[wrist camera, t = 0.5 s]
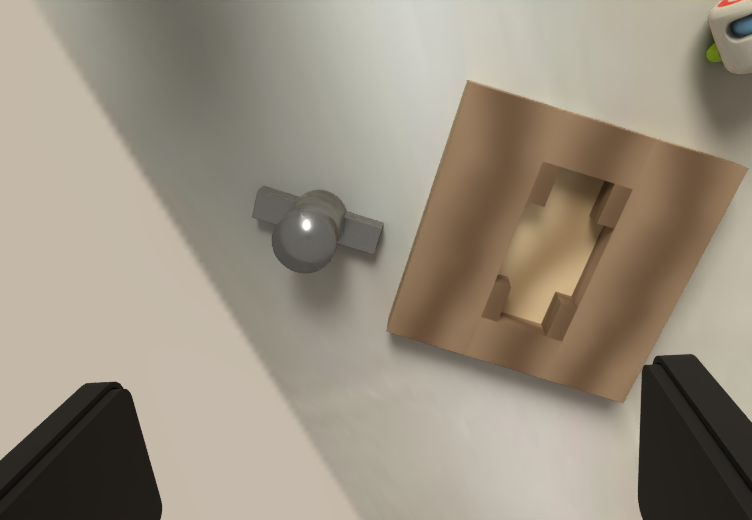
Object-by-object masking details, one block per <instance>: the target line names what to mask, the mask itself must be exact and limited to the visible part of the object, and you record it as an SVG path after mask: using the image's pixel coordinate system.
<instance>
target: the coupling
mask: <svg viewBox="0 0 752 520" xmlns="http://www.w3.org/2000/svg"><path fill="white" fill-rule="evenodd" d="M252 217H253V218H256V219H259V220H262V221H266V222H269V223H272V224H276V227H275V229H274V231H273V234H272V247H273V251H274V253H275V255H276V257H277V258H278V260H279V261H280V262H281V263H282V264H283V265H284V266H285V267H287V268H288V269H290V270H292V271H295V272H299V273H312V272H316V271H318V270H320V269H322V268H323V267H324V266H326V265H327V264H328V262H329V261H330V259H331V258H332V256H333V253H334V251H335V249H336V247H337V245H338V244H341V245H344V246H348V247H351V248H354V249H358V250H361V251H364V252H367V253H371V254H374V252H375V249H376V246H377V243H378V239H379V236H380V233H381V230H382V226H383V222H380V221H377V220H373V219H370V218H367V217H364V216H360V215H357V214H354V213H350V212H347V211H346V208H345V206H344V204H343V202H342V201H341V200H340V199H339V198H338V197H337V196H335V195H334V194H332V193H330V192H328V191H324V190H314V191H310V192H308V193H306V194H304V195H303V196H301V197H298V196H295V195H292V194H288V193H285V192H282V191H279V190H275V189H272V188H269V187H265V186H263V187H262V188H261V189H259V190H258V192H257V197H256V201H255V206H254V211H253V215H252Z"/></svg>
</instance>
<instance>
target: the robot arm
mask: <svg viewBox="0 0 752 520" xmlns="http://www.w3.org/2000/svg"><path fill="white" fill-rule="evenodd" d="M638 503H639V508H640V512H641V516H642V518H643V520H752V422H751V421H750V420H749V419H748V418H747V416H746V415H745V414H744V413H743V412H742V411H741V409H740V408H739V407H738V406H737V405H736V403H735V402H734V401H733V400H732V399H731V398H730V396H729V395H728V394H727V393H726V392H725V390H724V389H723V388H722V387H721V386H720V385H719V383H718V382H717V381H716V380H715V379H714V378H713V376H712V375H711V374H710V373H709V372H708V370H707V369H706V368H705V367H704V366H703V365H702V363H701V362H700V361H699V360H698V359H697V357H695V356H694V355H693V354H685V355H664V356H656V357H655V358H654V361H653V365H644V366H643V369H642V385H641V415H640V444H639V473H638ZM161 514H162V503H161V498H160V494H159V491H158V487H157V484H156V480H155V477H154V473H153V470H152V466H151V463H150V460H149V456H148V452H147V449H146V445H145V441H144V438H143V434H142V431H141V427H140V424H139V420H138V417H137V413H136V409H135V406H134V402H133V399H132V396H131V393H130V392H129V391H128V390H127V389H123V387H122V386H121V384H120V383H117V382H101V383H86V384H85V385H83V386H81V388H79V389H78V390H77V391H76V392H75V393H74V394H73V395H72V396H70V397H69V398H68V399H67V400H66V401H65V402H64V403H63V404H62V405H61V406H60V407H59V408H57V409H56V410H55V411H54V412H53V413H52V414H51V415H50V416H49V417H48V418H46V419H45V420H44V421H43V422H42V423H41V424H40V425H39V426H38V427H37V428H35V429H34V430H33V431H32V432H31V433H30V434H29V435H28V436H27V437H26V438H24V439H23V440H22V441H21V442H20V443H19V444H18V445H17V446H16V447H15V448H14V449H12V450H11V451H10V452H9V453H8V454H7V455H6V456H5V457H4V458H2V460H0V520H160V519H161Z"/></svg>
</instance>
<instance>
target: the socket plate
mask: <svg viewBox="0 0 752 520" xmlns="http://www.w3.org/2000/svg"><path fill="white" fill-rule="evenodd" d="M747 170H748V168H746V167H743V166H741V165H738V164H736V163H733V162H731V161H728V160H725V159H722V158H718V157H715V156H712V155H709V154H705V153H702V152H699V151H696V150H693V149H689V148H686V147H683V146H680V145H676V144H673V143H670V142H667V141H663V140H660V139H657V138H654V137H651V136H647V135H644V134H641V133H638V132H634V131H631V130H628V129H625V128H621V127H618V126H615V125H612V124H609V123H605V122H602V121H599V120H596V119H592V118H589V117H586V116H583V115H580V114H576V113H573V112H570V111H567V110H563V109H560V108H557V107H554V106H550V105H547V104H544V103H541V102H538V101H534V100H531V99H528V98H525V97H521V96H518V95H515V94H512V93H508V92H505V91H502V90H499V89H496V88H492V87H489V86H486V85H483V84H479V83H476V82H473V81H470V80H467V83H466V86H465V89H464V92H463V95H462V98H461V101H460V104H459V107H458V110H457V113H456V116H455V119H454V122H453V125H452V128H451V131H450V134H449V137H448V140H447V143H446V146H445V149H444V152H443V155H442V158H441V161H440V164H439V167H438V170H437V173H436V176H435V179H434V182H433V185H432V188H431V191H430V194H429V197H428V200H427V203H426V206H425V209H424V212H423V215H422V218H421V221H420V224H419V227H418V230H417V233H416V236H415V239H414V242H413V245H412V248H411V251H410V254H409V258H408V261H407V264H406V267H405V270H404V273H403V276H402V279H401V282H400V285H399V288H398V291H397V294H396V297H395V300H394V303H393V306H392V309H391V312H390V315H389V319H388V325H387V332H390V333H394V334H397V335H400V336H403V337H407V338H410V339H413V340H417V341H420V342H423V343H427V344H430V345H433V346H436V347H440V348H443V349H446V350H450V351H453V352H456V353H460V354H463V355H466V356H469V357H473V358H476V359H479V360H483V361H486V362H489V363H493V364H496V365H499V366H502V367H506V368H509V369H512V370H516V371H519V372H522V373H525V374H529V375H532V376H535V377H539V378H542V379H545V380H549V381H552V382H555V383H558V384H562V385H565V386H568V387H572V388H575V389H578V390H582V391H585V392H588V393H591V394H595V395H598V396H601V397H605V398H608V399H611V400H614V401H618V402H621V403H624V401H625V399H626V397H627V395H628V393H629V391H630V390H631V388H632V386H633V384H634V382H635V380H636V378H637V376H638V375H639V373H640V371H641V369H642V367H643V365H644V363H645V361H646V360H647V358H648V356H649V354H650V352H651V350H652V348H653V346H654V345H655V343H656V341H657V339H658V337H659V335H660V333H661V331H662V330H663V328H664V326H665V324H666V322H667V320H668V318H669V316H670V315H671V313H672V311H673V309H674V307H675V305H676V303H677V301H678V300H679V298H680V296H681V294H682V292H683V290H684V288H685V286H686V285H687V283H688V281H689V279H690V277H691V275H692V273H693V271H694V270H695V268H696V266H697V264H698V262H699V260H700V258H701V256H702V255H703V253H704V251H705V249H706V247H707V245H708V243H709V241H710V240H711V238H712V236H713V234H714V232H715V230H716V228H717V226H718V225H719V223H720V221H721V219H722V217H723V215H724V213H725V211H726V210H727V208H728V206H729V204H730V202H731V200H732V198H733V196H734V195H735V193H736V191H737V189H738V187H739V185H740V183H741V181H742V180H743V178H744V176H745V174H746V172H747Z"/></svg>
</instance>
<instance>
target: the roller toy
mask: <svg viewBox="0 0 752 520" xmlns="http://www.w3.org/2000/svg"><path fill="white" fill-rule="evenodd" d="M708 23H709V26H710V29H711V32H712V35H713V38H714V40H715V43H714V44H713V45H711V46H710V47H709V49H708V50H707V52H706V57H707V59H708V60H709V61H711V62H720V61H723V64H724V66H725V68H726V69H727V70H728V71H729V72H732V73H735V74H748V73H752V0H722V1H720V2H719V3H718V4H716V5H715V6H714V7H713V8H712V9H711V11H710V12H709V15H708Z"/></svg>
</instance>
